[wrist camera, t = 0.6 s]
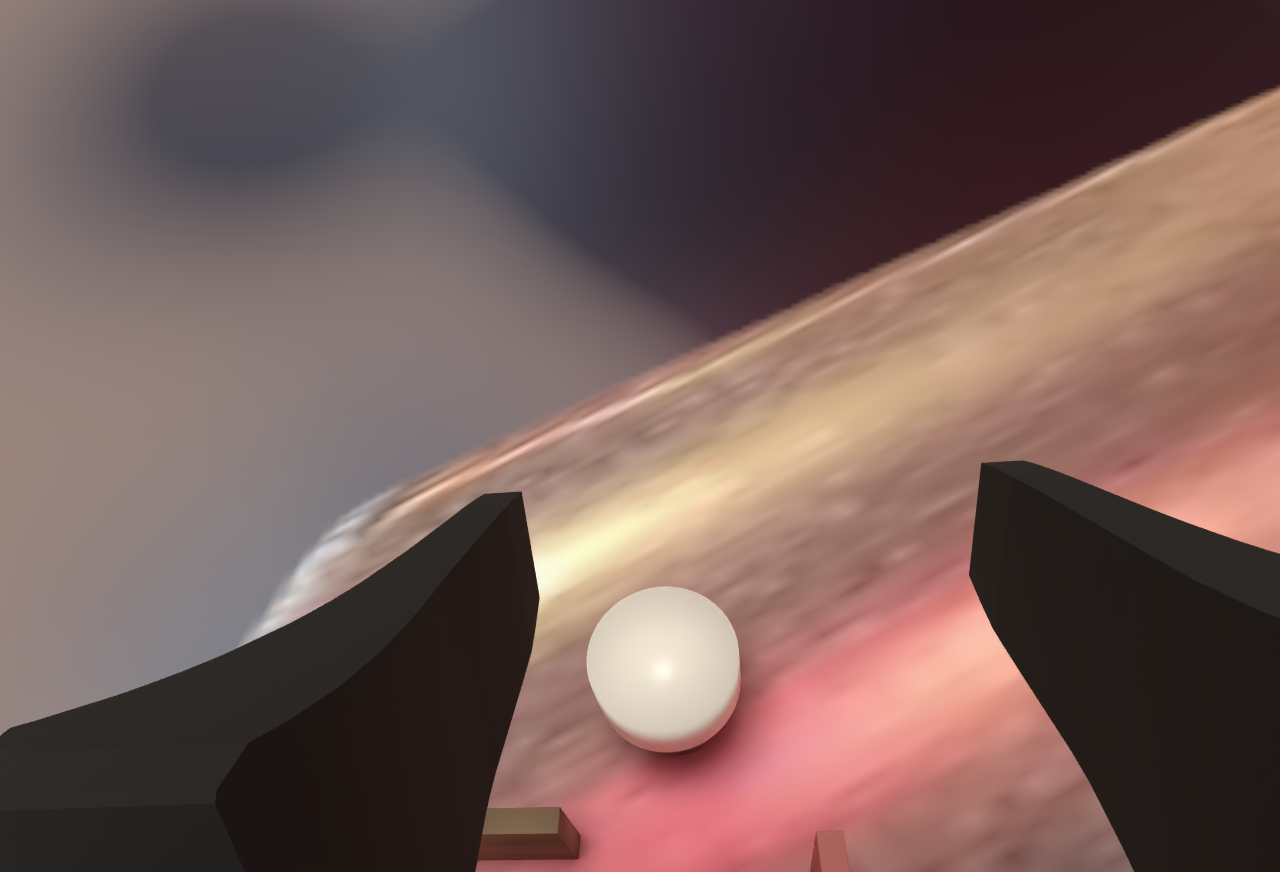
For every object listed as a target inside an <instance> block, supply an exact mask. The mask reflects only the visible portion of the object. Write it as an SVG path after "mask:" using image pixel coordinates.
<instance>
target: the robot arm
mask: <svg viewBox="0 0 1280 872" xmlns="http://www.w3.org/2000/svg"><path fill="white" fill-rule="evenodd" d="M969 576H970V578H971V581H972V583H973V585H974V588H975V590H976V592H977V595H978V597H979V600H980V602H981V604H982V606H983V609H984V611H985V613H986V615H987V617H988V619H989V621H990V623H991V626H992V628H993V630H994V631H995V633H996V634H997V636H998V638H999V639H1000V641H1001V643H1002V644H1003V646H1004V647H1005V649H1006V650H1007V652H1008V654H1009V655H1010V657H1011V658H1012V660H1013V662H1014V663H1015V665H1016V666H1017V668H1018V669H1019V671H1020V673H1021V674H1022V676H1023V677H1024V679H1025V680H1026V682H1027V683H1028V685H1029V686H1030V688H1031V690H1032V691H1033V693H1034V694H1035V696H1036V697H1037V699H1038V700H1039V702H1040V703H1041V705H1042V707H1043V708H1044V710H1045V711H1046V713H1047V714H1048V716H1049V717H1050V719H1051V720H1052V722H1053V724H1054V725H1055V727H1056V728H1057V730H1058V731H1059V733H1060V734H1061V736H1062V737H1063V739H1064V741H1065V742H1066V744H1067V745H1068V747H1069V748H1070V750H1071V751H1072V753H1073V755H1074V756H1075V758H1076V760H1077V762H1078V763H1079V765H1080V767H1081V768H1082V770H1083V772H1084V773H1085V775H1086V777H1087V779H1088V780H1089V782H1090V784H1091V786H1092V788H1093V790H1094V792H1095V794H1096V796H1097V798H1098V800H1099V802H1100V804H1101V806H1102V808H1103V810H1104V812H1105V814H1106V816H1107V818H1108V819H1109V821H1110V823H1111V825H1112V827H1113V829H1114V831H1115V833H1116V835H1117V837H1118V839H1119V841H1120V843H1121V845H1122V847H1123V849H1124V851H1125V853H1126V855H1127V858H1128V860H1129V862H1130V864H1131V866H1132V868H1133V870H1134V872H1280V554H1279V553H1275V552H1272V551H1268V550H1265V549H1262V548H1259V547H1256V546H1253V545H1249V544H1246V543H1243V542H1240V541H1237V540H1234V539H1231V538H1229V537H1226V536H1223V535H1220V534H1217V533H1214V532H1212V531H1209V530H1206V529H1203V528H1200V527H1198V526H1195V525H1192V524H1189V523H1186V522H1184V521H1181V520H1178V519H1176V518H1173V517H1171V516H1168V515H1165V514H1163V513H1160V512H1157V511H1155V510H1152V509H1150V508H1147V507H1145V506H1142V505H1140V504H1137V503H1135V502H1132V501H1130V500H1127V499H1125V498H1122V497H1120V496H1117V495H1115V494H1112V493H1110V492H1108V491H1105V490H1103V489H1100V488H1098V487H1095V486H1093V485H1090V484H1088V483H1085V482H1083V481H1080V480H1078V479H1075V478H1073V477H1070V476H1068V475H1065V474H1063V473H1060V472H1057V471H1055V470H1052V469H1049V468H1046V467H1043V466H1040V465H1037V464H1034V463H1030V462H1026V461H1006V462H990V463H981V470H980V480H979V489H978V498H977V507H976V516H975V525H974V534H973V544H972V553H971V562H970V571H969ZM539 598H540V597H539V591H538V585H537V579H536V573H535V567H534V562H533V556H532V550H531V544H530V538H529V532H528V526H527V521H526V515H525V509H524V503H523V497H522V492H507V493H491V494H484V495H482V496H480V497H478V498H477V499H475V500H474V501H472V502H471V503H470V504H468V505H467V506H465V507H464V508H463V509H461V510H460V511H459V512H457V513H456V514H455V515H453V516H452V517H451V518H450V519H448V520H447V521H446V522H444V523H443V524H442V525H440V526H439V527H438V528H436V529H435V530H434V531H433V532H431V533H430V534H429V535H427V536H426V537H425V538H423V539H422V540H421V541H419V542H418V543H417V544H415V545H414V546H413V547H411V548H410V549H409V550H407V551H406V552H404V553H403V554H402V555H400V556H399V557H397V558H396V559H394V560H393V561H391V562H390V563H388V564H387V565H386V566H384V567H383V568H381V569H380V570H378V571H377V572H375V573H374V574H372V575H371V576H370V577H368V578H367V579H365V580H364V581H362V582H361V583H359V584H358V585H356V586H354V587H353V588H351V589H350V590H348V591H346V592H345V593H343V594H342V595H340V596H338V597H337V598H335V599H333V600H331V601H330V602H328V603H326V604H324V605H323V606H321V607H319V608H317V609H315V610H314V611H312V612H310V613H308V614H306V615H305V616H303V617H301V618H299V619H297V620H295V621H293V622H291V623H290V624H288V625H285V626H283V627H281V628H279V629H277V630H275V631H273V632H271V633H269V634H266V635H264V636H262V637H260V638H258V639H256V640H254V641H252V642H249V643H247V644H245V645H243V646H241V647H239V648H237V649H235V650H233V651H230V652H228V653H226V654H224V655H221V656H219V657H217V658H214V659H212V660H209V661H207V662H205V663H202V664H200V665H197V666H195V667H192V668H190V669H187V670H185V671H183V672H180V673H177V674H174V675H172V676H169V677H166V678H164V679H161V680H159V681H156V682H153V683H150V684H148V685H145V686H142V687H139V688H137V689H134V690H131V691H128V692H125V693H122V694H119V695H117V696H113V697H110V698H107V699H104V700H101V701H98V702H94V703H91V704H88V705H84V706H81V707H78V708H75V709H72V710H68V711H65V712H62V713H59V714H56V715H52V716H49V717H46V718H43V719H40V720H37V721H34V722H30V723H26V724H23V725H19V726H15V727H12V728H10V729H8V730H7V731H6V732H4V733H3V734H2V735H1V736H0V872H475V871H476V865H477V860H478V854H479V849H480V843H481V838H482V833H483V827H484V822H485V817H486V811H487V806H488V801H489V797H490V793H491V789H492V785H493V781H494V777H495V773H496V770H497V767H498V763H499V760H500V757H501V753H502V750H503V747H504V743H505V740H506V737H507V733H508V730H509V727H510V723H511V720H512V717H513V713H514V710H515V707H516V703H517V700H518V697H519V693H520V690H521V686H522V683H523V680H524V676H525V673H526V669H527V666H528V662H529V659H530V655H531V652H532V646H533V640H534V634H535V628H536V620H537V613H538V606H539Z"/></svg>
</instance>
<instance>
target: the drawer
mask: <svg viewBox="0 0 1280 872" xmlns="http://www.w3.org/2000/svg"><path fill="white" fill-rule="evenodd" d="M811 872H850V869H849V862H848V856H847V849H846V842H845V836H844V831H816V837H815V843H814V849H813V856H812V862H811Z"/></svg>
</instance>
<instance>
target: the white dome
mask: <svg viewBox="0 0 1280 872" xmlns="http://www.w3.org/2000/svg"><path fill="white" fill-rule="evenodd" d="M587 672H588V677H589V681H590V684H591V687H592V689H593V691H594V694H595V696H596V698H597V700H598V703H599V705H600V707H601V710H602V712H603V714H604V716H605V718H606V719H607V721H608V723H609V724H610V725H611V727H612V728H613V729H614V730H615V731H616V732H617V733H618V734H619V735H620V736H621V737H622V738H624V739H625V740H627V741H628V742H630V743H631V744H633V745H636V746H638V747H640V748H643V749H646V750H649V751H655V752H679V751H683V750H687V749H690V748H693V747H696V746H698V745H700V744H702V743H704V742H705V741H707V740H708V739H710V738H711V737H713V736H714V735H715V734H716V733H717V732H718V731H719V730H720V729H721V728H722V727H723V726H724V725H725V724H726V722H727V721H728V720H729V718H730V716H731V715H732V713H733V711H734V709H735V706H736V704H737V701H738V697H739V694H740V686H741V673H740V660H739V649H738V642H737V638H736V635H735V632H734V630H733V627H732V625H731V623H730V622H729V620H728V618H727V617H726V615H725V614H724V613H723V612H722V611H721V609H720V608H719V607H717V606H716V605H715V604H714V603H713V602H712V601H710V600H709V599H707V598H706V597H704V596H702V595H700V594H698V593H696V592H693V591H691V590H687V589H683V588H678V587H654V588H649V589H645V590H641V591H639V592H636V593H633V594H631V595H629V596H627V597H625V598H624V599H622V600H621V601H619V602H618V603H617V604H615V605H614V606H613V607H612V608H611V609H610V610H609V611H608V612H607V613H606V614H605V615H604V616H603V617H602V619H601V620H600V621H599V623H598V625H597V626H596V628H595V630H594V632H593V634H592V637H591V639H590V643H589V646H588V652H587Z"/></svg>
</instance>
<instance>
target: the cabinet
mask: <svg viewBox="0 0 1280 872" xmlns="http://www.w3.org/2000/svg"><path fill="white" fill-rule="evenodd" d="M579 843H580V834H579V833H578V831H577V830H576V829H575V827H574V826H573V824H572V823H571V822H570V820H569V819H568V818H567V816H566V815H565V814H564V812H563V811H562V809H561V808H560V807H542V808H487V811H486V817H485V822H484V827H483V833H482V838H481V843H480V849H479V854H478V860H530V859H578V857H579Z"/></svg>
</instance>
